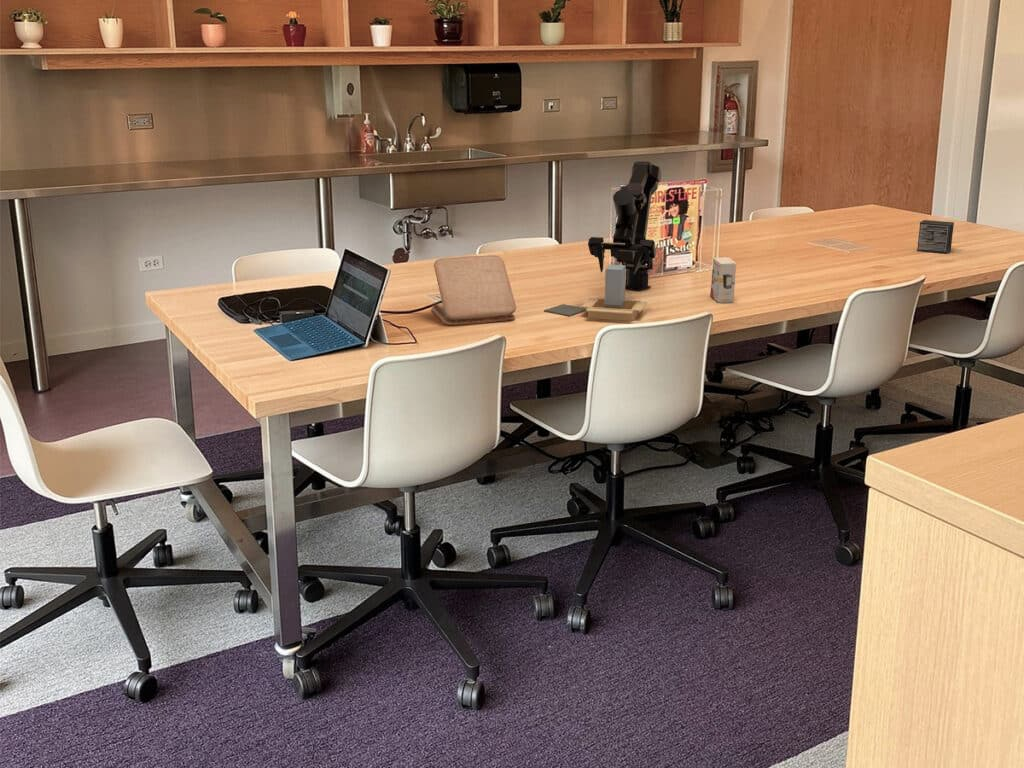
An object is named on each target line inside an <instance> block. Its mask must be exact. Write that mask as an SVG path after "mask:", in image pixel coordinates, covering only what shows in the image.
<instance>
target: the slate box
mask: <svg viewBox="0 0 1024 768" xmlns="http://www.w3.org/2000/svg"><path fill="white" fill-rule="evenodd" d="M604 269H605V273H604V275H605V276H604V278H605V279H604V298H605V308H613V309H625V300H626V288H625V285H626V265H622V264H608V266H607V267H606V268H604Z"/></svg>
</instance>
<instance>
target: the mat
mask: <svg viewBox="0 0 1024 768" xmlns="http://www.w3.org/2000/svg"><path fill="white" fill-rule="evenodd" d="M586 309H587V308H582V306H575V305H572V304H571V305H569V304H565V303H562V304H559V305H557V306H553V307H550V308H546V309H544V310H543V312H545V313H549V314H550V313H551V314H554V315H560V316H565V317H572V316H575V315H578V314H581V313H584V312H587V311H586Z"/></svg>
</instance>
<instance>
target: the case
mask: <svg viewBox="0 0 1024 768" xmlns="http://www.w3.org/2000/svg"><path fill="white" fill-rule="evenodd" d="M433 267H434V272H435V273H434V274H435V276H436V281H437V286H438V291H439V294H440V299H441V303H436V304H434V305H433V306H431V311H432V312H433V313H434V314H435V316H437V317H438V318H439V320H441V322H442V323H443V324H444V325H446V326H462V325H473V324H475V325H478V324H488V323H498V322H499V323H500V322H508V321H513V320H515V319H516V315H515V314H514V313H515V312H516V310H517V305H516V302H515V297H514V294H513V291H512V288H511V287H512V286H511V284H510V280H509V275H508V272H507V269H506V268H507V267H506V265H505V261H504V259H503V258H502V257H500V256H499V255H491V254H489V255H473V256H472V255H471V256H470V255H469V256H468V255H467V256H457V257H443V258H442V257H441V258H439V259H436V260H435V261H434V264H433Z"/></svg>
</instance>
